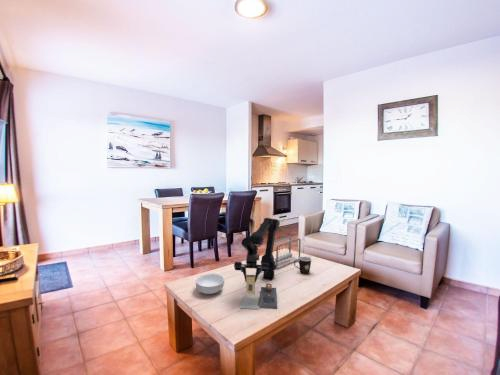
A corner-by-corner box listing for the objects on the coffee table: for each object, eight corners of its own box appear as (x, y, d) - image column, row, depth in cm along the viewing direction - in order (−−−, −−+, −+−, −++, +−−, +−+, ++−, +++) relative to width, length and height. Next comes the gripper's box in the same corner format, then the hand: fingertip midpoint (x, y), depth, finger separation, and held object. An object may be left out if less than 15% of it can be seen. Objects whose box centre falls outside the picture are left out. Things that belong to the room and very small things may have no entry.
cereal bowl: (193, 286, 152) (193, 275, 151) (220, 282, 158) (220, 271, 157) (198, 300, 136) (198, 288, 136) (227, 295, 142) (227, 283, 142)
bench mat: (242, 297, 140) (242, 296, 140) (258, 298, 140) (258, 297, 140) (240, 308, 129) (240, 307, 129) (257, 309, 129) (257, 308, 129)
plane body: (260, 291, 148) (261, 282, 147) (276, 291, 147) (276, 282, 147) (259, 307, 131) (260, 297, 130) (277, 308, 130) (277, 298, 129)
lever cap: (246, 291, 135) (246, 274, 135) (254, 291, 135) (255, 275, 134) (246, 294, 132) (246, 277, 132) (254, 294, 132) (254, 277, 131)
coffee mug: (310, 270, 179) (311, 257, 178) (310, 275, 170) (311, 261, 169) (294, 269, 181) (294, 255, 181) (293, 273, 173) (294, 259, 172)
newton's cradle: (289, 256, 208) (290, 235, 206) (300, 259, 200) (300, 238, 199) (265, 266, 186) (266, 242, 185) (276, 270, 179) (277, 246, 178)
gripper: (234, 247, 137) (231, 275, 127) (268, 248, 135) (268, 277, 125) (236, 256, 145) (233, 283, 135) (268, 257, 144) (268, 285, 134)
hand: (250, 282), depth 132 cm, fingers closed on lever cap, 4 cm apart
